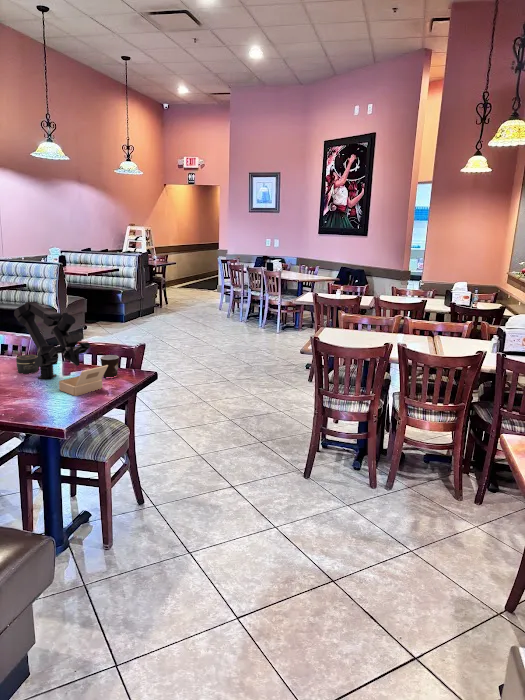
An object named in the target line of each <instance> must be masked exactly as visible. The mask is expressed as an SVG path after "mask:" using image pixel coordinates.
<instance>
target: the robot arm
mask: <svg viewBox="0 0 525 700" xmlns="http://www.w3.org/2000/svg"><path fill="white" fill-rule="evenodd" d="M13 316H14V318H15V319H16V320H17V321H18V323H20V324H21V325H23V326H24V327H25V329H26V330H27V332H28V334H29V336H30V338H31V340H32V341H33V343H34V344H35V347H36V348H37V352H36V356H37V359H36V360H35V365H36V366H38V367H39V368H40V369H39V370H40V375H39V376H38V377H37V379H38V380H40V379H41V380H52V379H53V378H55V377H57V374H54V366H55V365H58V361H59V354H62V355H61V356H62V359H66V360H67V361H69V362H70V363H72V364H74V365H75V366H77V367H79V366H80V354H85V353H87V351H88V350H89V349H90V348H91V344H90V343H89V341H88V342H87V341H86V342H82V341H83V340H84V338H85V337H84V334H83V333H82V332H77V333H76V334H70V333H69V331H70V330H71V329H72V327H73V326H74V325H75V323H76V318H75V317H74V316H73V315H71V314H69V313H68V312H63V313H60V312H58V311H54V310H53V311H52V310H49V309H47V308H46V307H44V306H42V305H41V304H39V303H38V302H37V301H34V300H33V301H27V302H25V303H24V304H22V305H19V306H18V307H17V308H15V309H14V312H13ZM36 316H37V317H39V318H40V319H42V322H43V324H44V325H46V327H52V328H51V331H50V334H51V335H54V336H55V339H56V340H57V342H56V345H57V346H55V345H54V344H50V345H49V344H48V342H47V340H46V338H45V337H44V335H43V334H42V332H41V330H40V328H39V326H38V324H37V323H36V321H35V320H36ZM78 342H80V343H79V344H78Z"/></svg>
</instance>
